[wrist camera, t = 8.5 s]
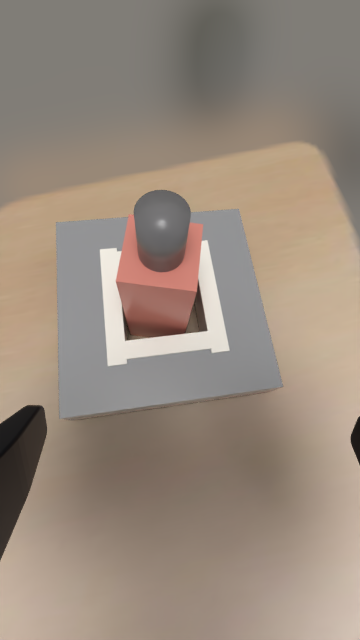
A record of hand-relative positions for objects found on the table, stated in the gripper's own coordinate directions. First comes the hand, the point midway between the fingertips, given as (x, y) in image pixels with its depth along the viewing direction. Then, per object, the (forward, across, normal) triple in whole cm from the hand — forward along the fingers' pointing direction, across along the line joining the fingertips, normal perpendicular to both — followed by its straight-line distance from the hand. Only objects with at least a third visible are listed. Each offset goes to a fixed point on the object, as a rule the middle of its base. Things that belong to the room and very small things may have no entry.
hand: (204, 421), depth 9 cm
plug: (+16, +2, +4) cm, 16 cm away
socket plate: (+16, +1, +4) cm, 16 cm away
